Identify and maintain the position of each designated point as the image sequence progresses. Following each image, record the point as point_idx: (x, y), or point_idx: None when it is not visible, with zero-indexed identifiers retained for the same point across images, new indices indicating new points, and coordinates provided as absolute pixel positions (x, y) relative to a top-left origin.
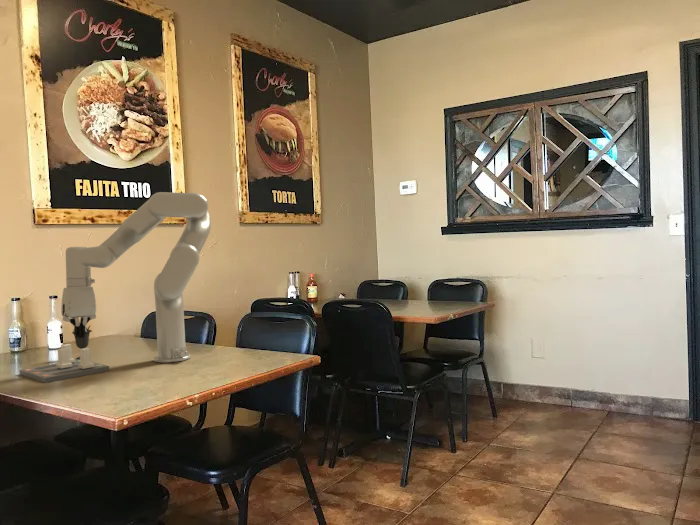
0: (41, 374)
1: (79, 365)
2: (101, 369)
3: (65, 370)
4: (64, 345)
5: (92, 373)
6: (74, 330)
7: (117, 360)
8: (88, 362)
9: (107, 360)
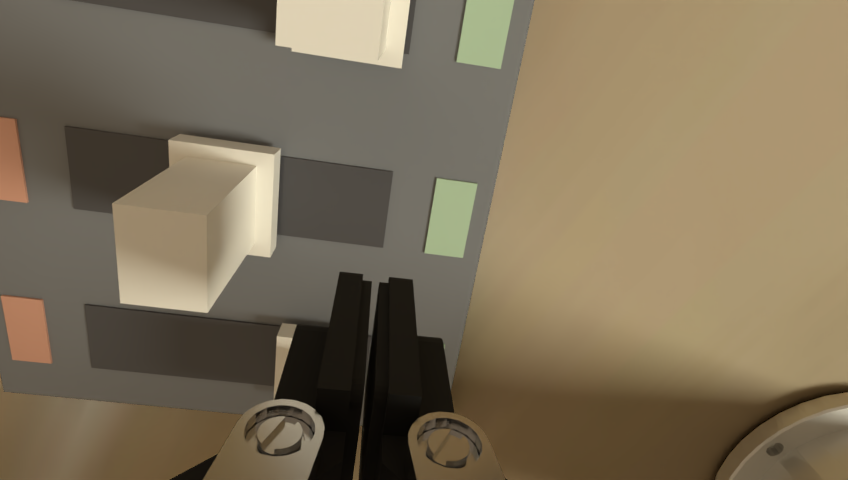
0: (14, 257)
1: (276, 357)
2: None
3: None
4: (289, 12)
5: None
6: (284, 369)
7: (739, 148)
8: None
9: (723, 52)
